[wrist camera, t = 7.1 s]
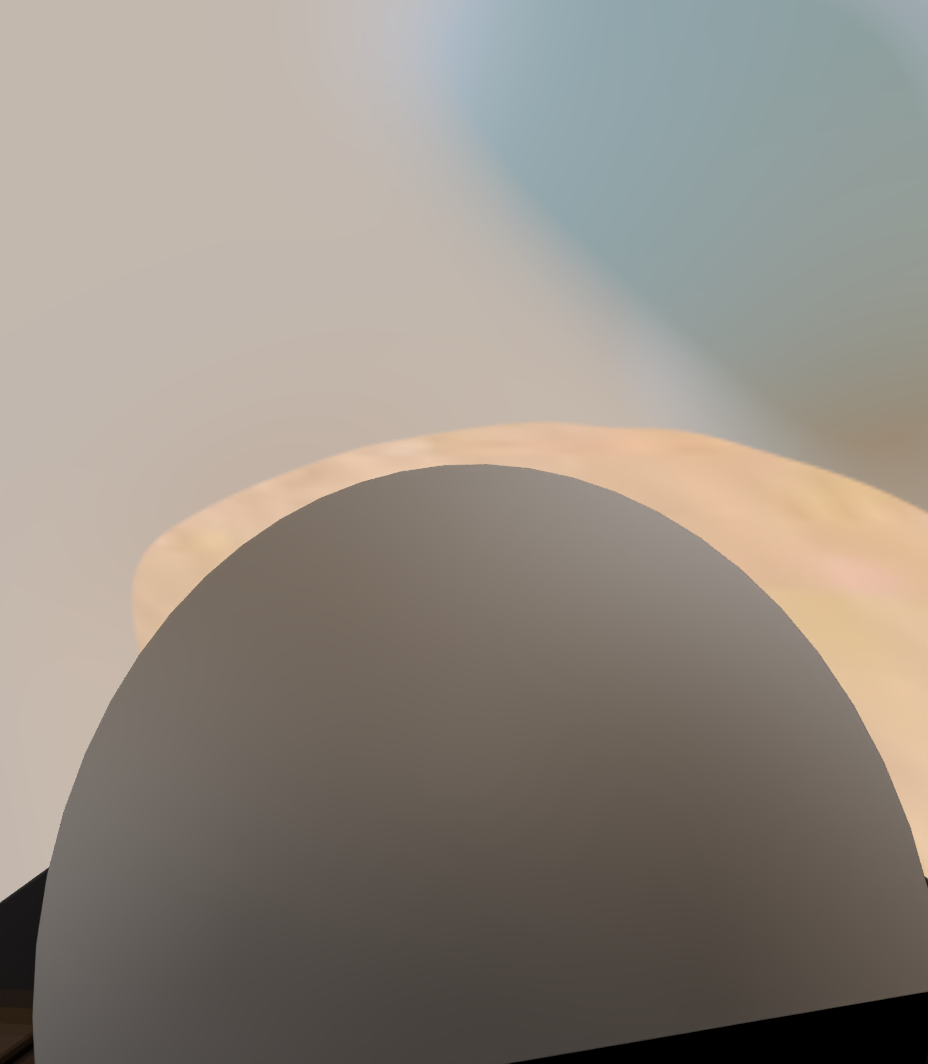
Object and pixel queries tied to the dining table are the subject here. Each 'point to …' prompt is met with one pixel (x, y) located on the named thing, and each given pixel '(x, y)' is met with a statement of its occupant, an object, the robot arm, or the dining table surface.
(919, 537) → the dining table surface
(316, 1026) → the post
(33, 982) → the robot arm
